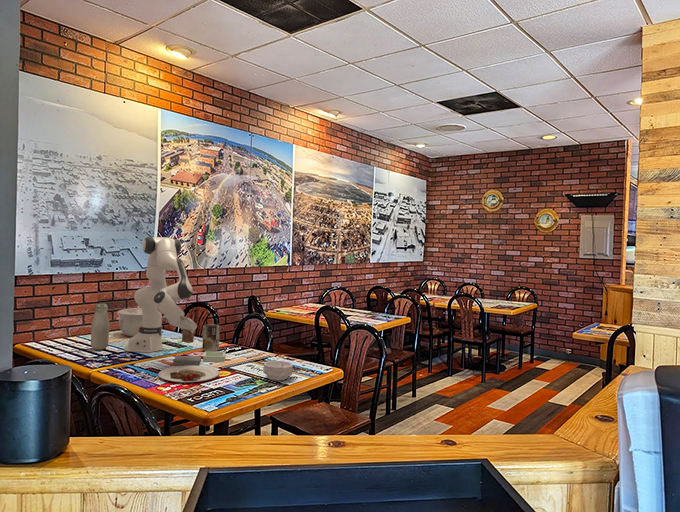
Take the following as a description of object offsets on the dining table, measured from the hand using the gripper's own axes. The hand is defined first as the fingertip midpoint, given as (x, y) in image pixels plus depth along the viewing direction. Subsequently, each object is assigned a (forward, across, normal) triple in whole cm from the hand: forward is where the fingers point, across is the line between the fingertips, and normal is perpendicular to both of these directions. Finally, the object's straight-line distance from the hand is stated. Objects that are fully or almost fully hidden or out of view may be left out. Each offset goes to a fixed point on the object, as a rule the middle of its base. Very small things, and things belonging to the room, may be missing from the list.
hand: (189, 331), depth 277 cm
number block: (+4, 0, +5) cm, 6 cm away
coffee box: (+35, +16, -9) cm, 39 cm away
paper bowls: (+22, -56, +2) cm, 60 cm away
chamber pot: (+30, +84, -2) cm, 90 cm away
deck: (+12, -1, +13) cm, 18 cm away
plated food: (+2, -21, +24) cm, 32 cm away
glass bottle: (+1, +60, +26) cm, 66 cm away
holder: (+24, -3, +1) cm, 25 cm away
